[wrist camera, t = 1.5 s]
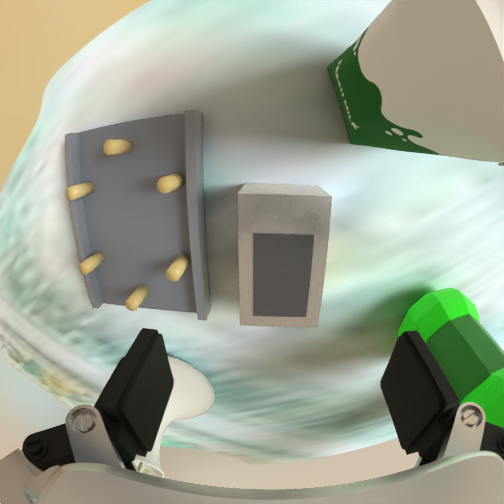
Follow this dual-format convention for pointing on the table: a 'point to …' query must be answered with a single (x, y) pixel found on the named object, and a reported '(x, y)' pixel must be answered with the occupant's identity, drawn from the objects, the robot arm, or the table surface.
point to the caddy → (141, 213)
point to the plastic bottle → (461, 349)
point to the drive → (282, 253)
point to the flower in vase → (178, 408)
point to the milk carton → (427, 79)
